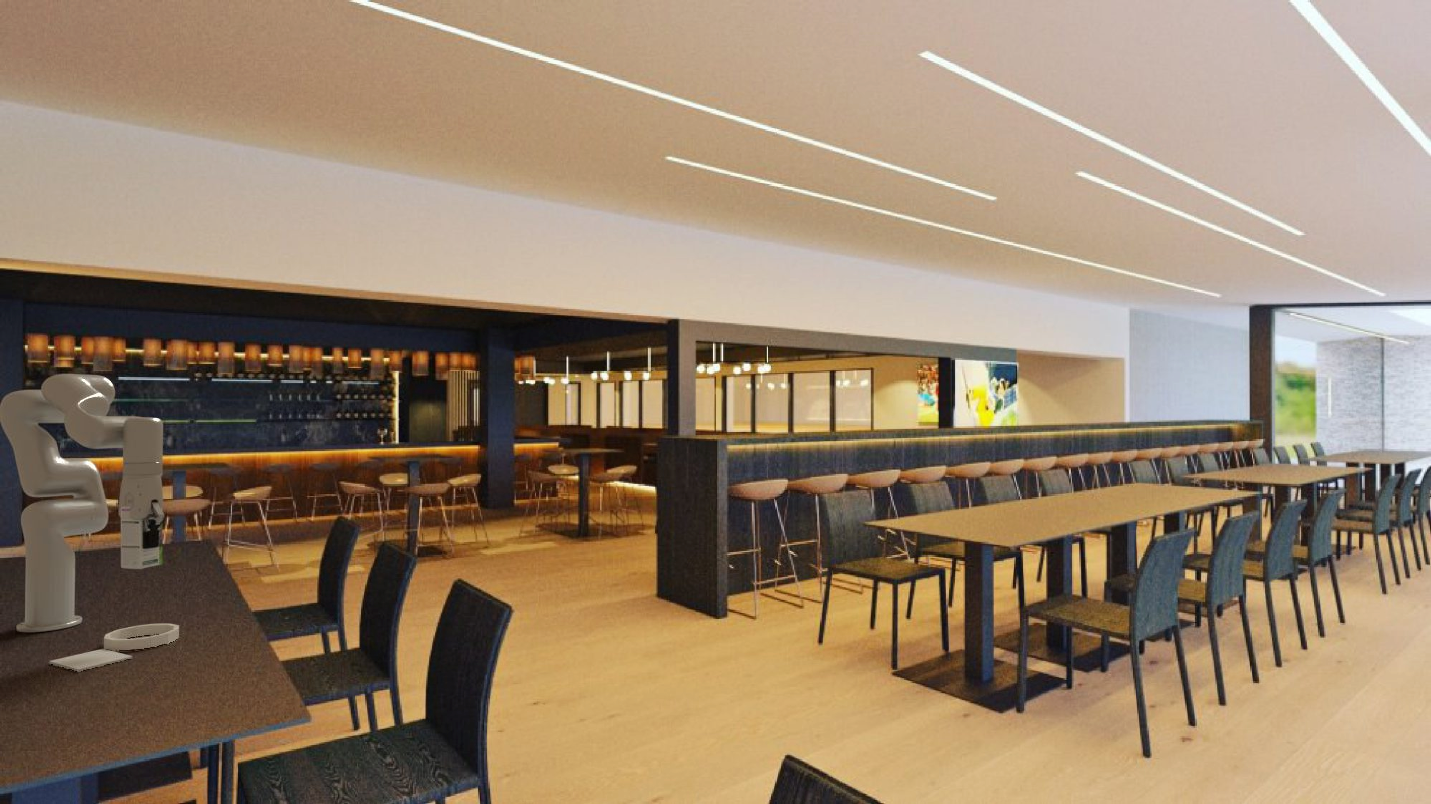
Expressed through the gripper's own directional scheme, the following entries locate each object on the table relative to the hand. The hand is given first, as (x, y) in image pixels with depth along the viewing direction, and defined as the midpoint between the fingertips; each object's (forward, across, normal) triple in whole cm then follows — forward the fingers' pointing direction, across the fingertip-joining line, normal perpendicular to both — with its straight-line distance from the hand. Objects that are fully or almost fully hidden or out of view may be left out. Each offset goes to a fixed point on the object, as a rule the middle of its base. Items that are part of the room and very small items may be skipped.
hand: (141, 546), depth 184 cm
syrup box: (+5, 0, 0) cm, 5 cm away
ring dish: (+22, 0, 0) cm, 23 cm away
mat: (+22, +6, -13) cm, 26 cm away
